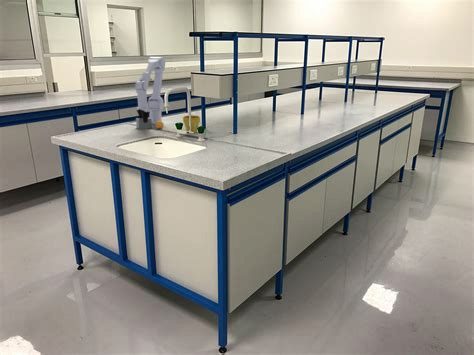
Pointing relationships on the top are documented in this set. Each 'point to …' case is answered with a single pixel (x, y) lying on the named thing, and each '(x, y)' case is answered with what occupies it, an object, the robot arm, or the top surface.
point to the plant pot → (194, 122)
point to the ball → (159, 124)
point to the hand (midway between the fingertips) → (143, 121)
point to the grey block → (141, 124)
